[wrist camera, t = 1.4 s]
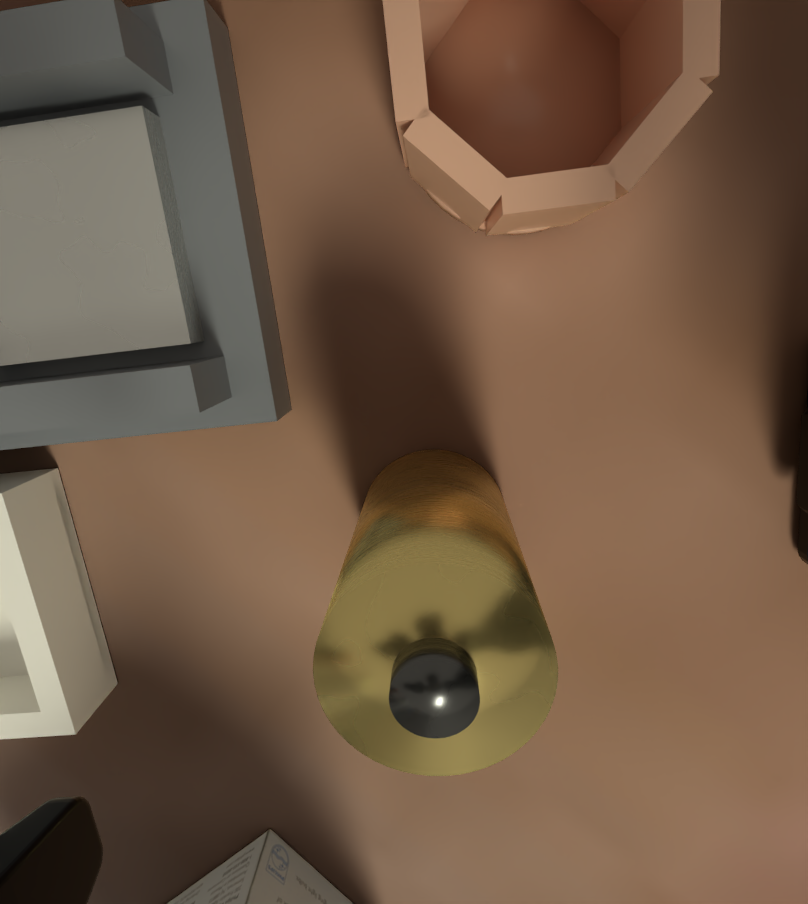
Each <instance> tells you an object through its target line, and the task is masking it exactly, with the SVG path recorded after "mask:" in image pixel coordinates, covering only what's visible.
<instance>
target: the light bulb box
mask: <svg viewBox="0 0 808 904" xmlns="http://www.w3.org/2000/svg"><path fill="white" fill-rule="evenodd" d="M167 904H353V903H352V902H351V901H350V900H349V899H348V898H347V897H345V896H344V895H343V894H342V893H341V892H340V891H339V890H338V889H336V888H335V887H334V886H333V885H332V884H331V883H330V882H329V881H328V880H327V879H325V878H324V877H323V876H322V875H321V874H320V873H319V872H318V871H317V870H316V869H314V868H313V867H312V866H311V865H310V864H309V863H308V862H307V861H305V860H304V859H303V858H302V857H301V856H300V855H299V854H298V853H296V852H295V851H294V850H293V849H292V848H291V847H290V846H289V845H288V844H286V843H285V842H284V841H283V840H282V839H281V838H280V837H279V836H278V835H277V834H276V833H275V832H273V831H272V830H271V829H269V830H267V831H266V832H265V833H264V834H263V835H261V836H260V837H259V838H257V839H256V840H254V841H253V842H252V843H250V844H249V845H247V846H246V847H245V848H243V849H242V850H241V851H239V852H238V853H236V854H235V855H234V856H232V857H231V858H230V859H228V860H227V861H225V862H224V863H223V864H221V865H220V866H218V867H217V868H215V869H214V870H213V871H211V872H210V873H208V874H207V875H206V876H204V877H203V878H202V879H200V880H199V881H198V882H196V883H195V884H193V885H192V886H191V887H189V888H188V889H187V890H185V891H184V892H182V893H181V894H180V895H178V896H177V897H175V898H174V899H173V900H171V901H170V902H168V903H167Z"/></svg>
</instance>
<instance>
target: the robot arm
mask: <svg viewBox="0 0 808 904" xmlns="http://www.w3.org/2000/svg"><path fill="white" fill-rule="evenodd" d="M797 505H798V506H799V507H800V523H799V540H798V553H799V556H800V558H801V559H802V560H803V561H804V562H805V563H807V564H808V391H807V408H806V410H805V412H804V413H803V414H802V417H801V434H800V451H799V468H798V485H797ZM102 856H103V848H102V843H101V839H100V836H99V833H98V830H97V827H96V823H95V820H94V817H93V814H92V811H91V807H90V805H89V802H88V801H87V800H86V799H85V798H83V797H63V798H54V799H51V800H49V801H47V802H45V803H44V804H42V805H41V806H40V807H38V808H37V809H35V810H34V811H33V812H31V813H30V814H28V815H27V816H26V817H24V818H23V819H22V820H20V821H19V822H17V823H16V824H15V825H13V826H12V827H10V828H9V829H8V830H6V831H5V832H3V833H2V834H1V835H0V904H87V902H88V899H89V896H90V894H91V891H92V889H93V886H94V883H95V881H96V878H97V876H98V873H99V870H100V867H101V863H102Z"/></svg>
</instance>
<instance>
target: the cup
mask: <svg viewBox="0 0 808 904" xmlns="http://www.w3.org/2000/svg"><path fill="white" fill-rule="evenodd" d="M383 9H384V19H385V28H386V37H387V46H388V56H389V65H390V74H391V84H392V93H393V102H394V111H395V121H396V126H397V131H398V135H399V140H400V144H401V149H402V154H403V158H404V163H405V167H409V171H410V176H411V178H412V179H413V180H414V181H416V182H417V183H418V184H419V185H420V186H421V187H422V188H423V189H424V190H425V192H426V193H427V194H428V195H429V197H430V198H431V199H432V200H433V201H434V202H435V203H436V204H437V205H438V206H439V207H440V208H441V209H442V210H444V211H445V212H446V213H448V214H449V215H450V216H452V217H453V218H455V219H457V220H458V221H460V222H462V223H464V224H466V225H467V226H468V227H469V228H471V229H472V230H473V231H474V232H475V233H476V232H477V230H481V231H485V234H486V236H489V235H497V234H504V235H520V234H529V233H534V232H539V231H543V230H546V229H549V228H552V227H559V226H567V225H571V224H573V223H575V222H576V221H578V220H580V219H582V218H584V217H586V216H587V215H589V214H591V213H593V212H595V211H597V210H598V209H600V208H602V207H604V206H606V205H608V204H609V203H611V202H613V201H615V200H616V199H618V198H620V197H621V196H623V195H625V194H627V193H629V192H630V191H631V189H632V188H633V187H634V186H635V185H636V183H637V182H638V181H639V180H640V179H641V177H642V176H643V175H644V174H645V173H646V171H647V170H648V169H649V168H650V166H651V165H652V164H653V163H654V162H655V160H656V159H657V158H658V157H659V156H660V154H661V153H662V152H663V151H664V150H665V148H666V147H667V146H668V145H669V144H670V142H671V141H672V140H673V139H674V138H675V136H676V135H677V134H678V133H679V132H680V130H681V129H682V128H683V127H684V126H685V124H686V123H687V122H688V121H689V120H690V118H691V117H692V116H693V115H694V114H695V112H696V111H697V110H698V109H699V108H700V106H701V105H702V104H703V103H704V102H705V100H706V99H707V98H708V97H709V96H710V94H711V93H712V92H713V91H712V90H711V89H710V88H709V87H708V86H707V84H708V83H710V82H711V81H712V80H714V79H715V78H716V77H717V76H719V68H720V16H721V0H383Z"/></svg>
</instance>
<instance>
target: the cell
mask: <svg viewBox="0 0 808 904" xmlns="http://www.w3.org/2000/svg"><path fill="white" fill-rule="evenodd" d="M313 675H314V684H315V688H316V692H317V696H318V699H319V701H320V704H321V706H322V709H323V711H324V712H325V714H326V716H327V718H328V719H329V721H330V723H331V724H332V725H333V726H334V728H335V729H336V730H337V732H338V733H339V734H340V735H341V736H342V737H343V738H344V739H345V740H346V741H347V742H348V743H349V744H350V745H352V746H353V747H354V748H355V749H357V750H358V751H359V752H361V753H362V754H364V755H366V756H367V757H369V758H371V759H372V760H374V761H376V762H378V763H380V764H383V765H385V766H387V767H390V768H393V769H396V770H399V771H403V772H407V773H412V774H417V775H427V776H450V775H459V774H464V773H469V772H473V771H477V770H480V769H483V768H486V767H489V766H491V765H493V764H495V763H497V762H499V761H502V760H504V759H505V758H507V757H508V756H510V755H511V754H513V753H515V752H516V751H517V750H518V749H520V748H521V747H522V746H523V745H524V744H526V743H527V742H528V741H529V740H530V738H531V737H532V736H533V735H534V734H535V733H536V732H537V731H538V729H539V728H540V726H541V725H542V723H543V722H544V721H545V719H546V717H547V715H548V713H549V711H550V709H551V706H552V703H553V700H554V697H555V693H556V688H557V682H558V664H557V656H556V651H555V648H554V644H553V641H552V638H551V635H550V632H549V629H548V626H547V623H546V620H545V617H544V615H543V612H542V609H541V606H540V603H539V600H538V597H537V595H536V592H535V589H534V586H533V583H532V580H531V577H530V575H529V572H528V569H527V566H526V563H525V560H524V557H523V554H522V552H521V549H520V546H519V543H518V540H517V537H516V534H515V532H514V529H513V526H512V523H511V520H510V517H509V514H508V511H507V509H506V506H505V503H504V500H503V497H502V494H501V492H500V490H499V488H498V486H497V484H496V483H495V481H494V479H493V478H492V477H491V476H490V475H489V473H488V472H487V471H486V470H485V469H484V468H483V467H481V466H480V465H479V464H477V463H476V462H475V461H473V460H471V459H469V458H467V457H466V456H463V455H461V454H458V453H455V452H451V451H446V450H423V451H417V452H413V453H410V454H407V455H405V456H403V457H400V458H398V459H397V460H395V461H393V462H392V463H390V464H389V465H388V466H387V467H386V468H384V469H383V470H382V471H381V472H380V474H379V475H378V476H377V477H376V479H375V480H374V481H373V483H372V485H371V487H370V489H369V490H368V493H367V496H366V499H365V502H364V505H363V508H362V510H361V513H360V516H359V519H358V522H357V525H356V528H355V531H354V534H353V537H352V540H351V543H350V546H349V549H348V551H347V554H346V557H345V560H344V563H343V566H342V569H341V572H340V575H339V578H338V581H337V584H336V587H335V590H334V593H333V595H332V598H331V601H330V604H329V607H328V610H327V613H326V616H325V619H324V622H323V625H322V628H321V631H320V634H319V636H318V639H317V642H316V647H315V652H314V660H313Z"/></svg>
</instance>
